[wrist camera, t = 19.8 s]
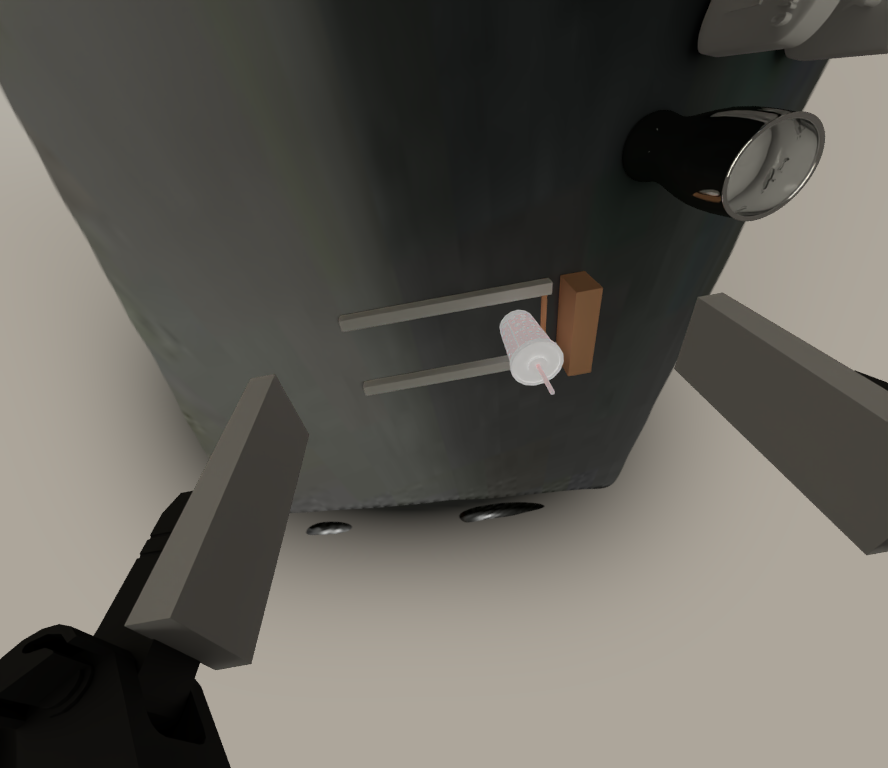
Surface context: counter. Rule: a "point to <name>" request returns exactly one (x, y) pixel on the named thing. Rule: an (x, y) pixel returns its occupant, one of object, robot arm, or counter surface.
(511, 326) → the beverage cup
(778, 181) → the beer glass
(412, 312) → the channel
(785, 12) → the cable organizer
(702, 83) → the counter surface
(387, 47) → the counter surface
